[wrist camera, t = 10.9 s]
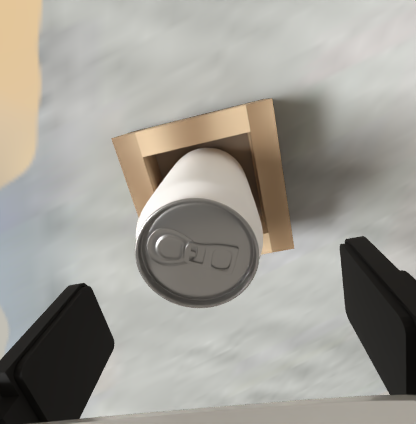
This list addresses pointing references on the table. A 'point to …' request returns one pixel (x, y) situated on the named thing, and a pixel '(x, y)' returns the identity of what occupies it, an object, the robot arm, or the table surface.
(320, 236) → the table surface
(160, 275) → the can
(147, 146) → the socket block
